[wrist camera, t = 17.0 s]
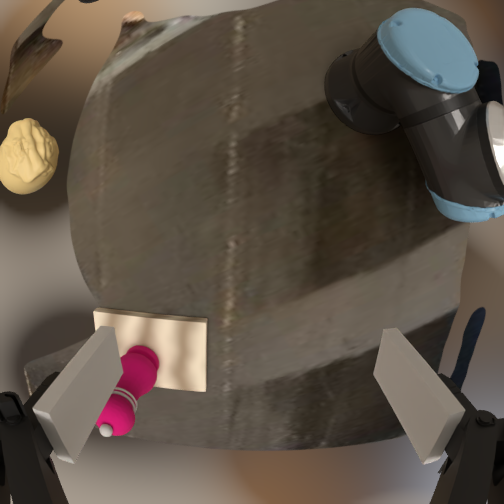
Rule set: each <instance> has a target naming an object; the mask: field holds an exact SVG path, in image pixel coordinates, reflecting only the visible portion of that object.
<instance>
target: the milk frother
mask: <svg viewBox="0 0 504 504" xmlns="http://www.w3.org/2000/svg"><path fill="white" fill-rule="evenodd" d="M79 1H80V2H83V3H92V2H95V1H98V0H79Z"/></svg>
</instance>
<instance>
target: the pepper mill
mask: <svg viewBox="0 0 504 504" xmlns="http://www.w3.org/2000/svg"><path fill="white" fill-rule="evenodd" d="M120 359H121V364H122V368H123V374H122V376H121V378H120V380H119V381H118V383H117V385H116V387H115V388H114V390H113V392H112V394H111V396H110V397H109V399H108V401H107V403H106V405H105V407H104V408H103V410H102V412H101V414H100V416H99V418H98V420H97V421H96V424H97V426H98V427H99V428H100V432H101V434H102V435H103V436H106V437H109V436H111V435H117V436H118V435H124V434H126V433H128V432H129V431H130V430H131V429H132V427H133V425H134V422H135V415H134V414H135V411H136V409H137V400H138V398H139V397H140V396H142V395H144V394H146V393H147V392H149V391H150V390H151V389H152V388H153V386H154V385H155V383H156V380H157V371H158V368H159V359H158V357H157V355H156V354H155V353H154V352H153V351H152V350H151V349H149V348H147V347H145V346H139V345H138V346H133V347H131V348H130V349H129V350H128V351H127V353H126V354H125V355H123V356H122V357H120Z"/></svg>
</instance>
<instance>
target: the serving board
mask: <svg viewBox="0 0 504 504" xmlns="http://www.w3.org/2000/svg"><path fill="white" fill-rule="evenodd" d="M93 312H94V321H95V329H96V330H97V329H98V328H99V327H100V326H110V327H114V328H115V334H116V339H117V345H118V350H119V354H120V357H122V356H123V355H125V354H126V353H127V351H128V350H129V349H130V348H131V347H133V346H138V345H139V346H145V347H147V348H149V349H151V350H152V351H153V352H154V353H155V354H156V355H157V357H158V359H159V368H158V371H157V380H156V383H155V385H154V387H162V388H171V389H180V390H190V391H201V392H206V387H207V318H199V317H186V316H174V315H163V314H153V313H143V312H133V311H124V310H116V309H108V308H100V307H98V308H96V309H95V310H94V311H93Z"/></svg>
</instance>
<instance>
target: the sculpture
mask: <svg viewBox="0 0 504 504" xmlns="http://www.w3.org/2000/svg"><path fill="white" fill-rule="evenodd" d="M58 155H59V149H58V145H57V142H56V139H55V138H54V137H52V136H50V135H49V133H48V132H47V130H45V129H44V128H42V127H41V126H39V123H38V121H36V120H35V121H34V120H33V119H31V118H26V119H24V120H20V121H17V122H15V123H13V124H12V125H11V126H10V128H9V130H8V136H7V138H6V139H5V140H4V141H3V143H2V145H1V147H0V180H1V182H2V183H3V184H4V186H5V187H6V188H7V189H9V190H10V191H12V192H14V193H17V194H29V193H32V192H35V191H37V190H39V189H41V188H42V187H43V186H44V185H45V184H47V183H48V182H49V180H50V179H51V178H52V176H53V174H54V172H55V170H56V167H57V161H58Z"/></svg>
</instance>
